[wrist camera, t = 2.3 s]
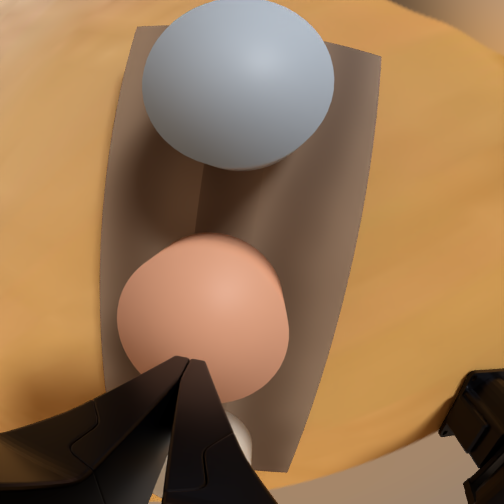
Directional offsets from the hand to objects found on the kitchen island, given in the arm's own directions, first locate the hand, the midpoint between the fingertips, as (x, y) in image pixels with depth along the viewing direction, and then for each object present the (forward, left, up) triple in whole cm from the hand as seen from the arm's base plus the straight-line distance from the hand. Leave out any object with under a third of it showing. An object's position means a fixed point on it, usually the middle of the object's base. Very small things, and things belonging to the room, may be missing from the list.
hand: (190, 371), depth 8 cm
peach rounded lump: (0, 0, -8) cm, 8 cm away
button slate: (0, -9, -8) cm, 12 cm away
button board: (0, 0, -9) cm, 9 cm away
